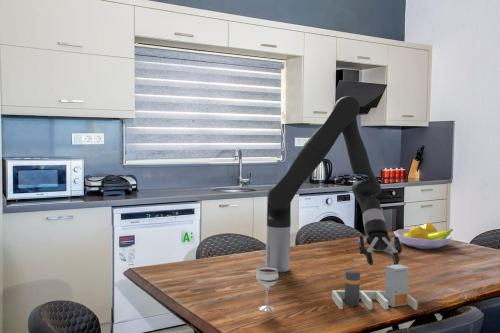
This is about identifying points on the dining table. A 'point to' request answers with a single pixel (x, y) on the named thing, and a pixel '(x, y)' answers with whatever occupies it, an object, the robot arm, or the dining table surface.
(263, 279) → the wineglass
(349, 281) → the charcoal plug
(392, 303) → the skincare box
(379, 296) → the rack
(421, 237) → the fruit bowl
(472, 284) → the dining table surface
